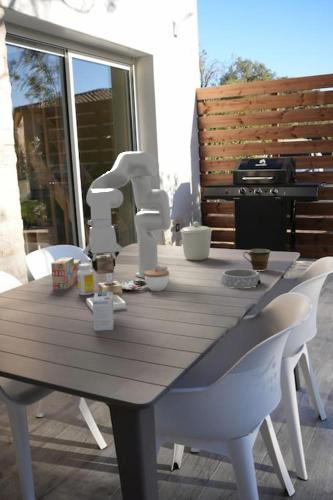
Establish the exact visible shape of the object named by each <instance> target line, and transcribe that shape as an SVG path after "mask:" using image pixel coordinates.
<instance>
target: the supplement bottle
mask: <svg viewBox="0 0 333 500" xmlns="http://www.w3.org/2000/svg"><path fill="white" fill-rule="evenodd" d="M79 268H80V270H79V271H78V272H77V277H78V281H77V287H78V289H77V290H78V294H79V295H81V296H90V295H94V293H95V287H94V284H95V283H94V273H93V272H94V271H93V270H92V269H91V264H90V263H81V264H80V265H79Z"/></svg>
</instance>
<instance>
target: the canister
mask: <svg viewBox="0 0 333 500" xmlns="http://www.w3.org/2000/svg"><path fill="white" fill-rule="evenodd" d="M212 231H213V228H211V227H210V226H204V225H200V222H198V221H193V223H192V226H191V225H190V226H185V227H182V229H179V232H180V233H181V234H180V236H181V240H182V241H181V242H182V249H183V255H184V257H185V259H186V260H189V261H203V260H207V259H208V257H209V256H210V251H211V239H212V237H211V236H212Z"/></svg>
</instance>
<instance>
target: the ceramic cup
mask: <svg viewBox="0 0 333 500" xmlns="http://www.w3.org/2000/svg"><path fill="white" fill-rule="evenodd" d="M270 253H271V250H270V249H267V248H252V249H249V252H248V251H245V252H244V253H243V258H244V259H246V260H247V261H248V262H249V263H250V265H251V266H252V267H251V268H252V270H265V269H268V268H267V267H268V264H269V258H270ZM245 254H247V255H248V256H249V257H250V259H248V258H247V257H246V256H245Z"/></svg>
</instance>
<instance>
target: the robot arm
mask: <svg viewBox="0 0 333 500" xmlns="http://www.w3.org/2000/svg"><path fill="white" fill-rule="evenodd" d="M114 161H115V162H114V163H113V165H112V167H111V169H110V171H107V172H106V173H104V174H102V175H101V176H99V177H97V178H96V179H95V180H94V181H92V182H91V185H90V186H89V188H88V190H87V194H86V199H85V200H86V203H87V205H88V207H90V217H91V219H90V220H87V225H88V226H89V225H90V226H91V227H89V233H88V235H89V236H88V244H87V246H86V247H85V248H84V249H83V250H82V253H83V254H84V255H85V256H86V257H88V258H89V259H90V260H91V266H92V269H93V270H94V272H95V271H97V261H96V256H98V255H100V254H101V255H102V254H109V255H110V256H112V257H113V268H114V269H115V267H116V258H117V257H118V256H119V255H120V253H121V252H122V251H123V250H124V248H123V247H122V245H120V244H119V243H118V242H117V236H116V235H117V234H116V230H115V227H114V225H112V212H111V211H112V210H111V209H117V208H119V207H120V206H121V205H122V204H123V203H124V195H123V192H122V191H121V190H120V189H119V188H121V187H124V186H126V185H127V184H128V183H129V180H130V181H131V185H132V190H133V196H134V197H133V198H134V204H135V206H136V208H137V209H139V210H142V211H139V212H137V213H136V214H135V215H134V220H133V221H134V226H135V231H136V232H135V233H136V237H137V242H136V243H137V263H138V264H137V265H138V266H137V267H138V271H137V272H135V276H136V277H138V278H142V279H143V278H144V279H145V275H144V273H145V271H148V270H154V269H155V268H158V269H162V270H167V271H168V266H167V265H159V264H158V262H159V261H158V240H157V236H156V234H155V233H154V232H157V231H158V232H162V231H163V232H165V231H168V230H169V229H171V225H172V219H171V210H170V209H171V208H170V201H169V195H168V193H167V191H166V190H164V189H161V188H160V189H157V188H156V189H154V188H152V185H151V184H152V183H151V178H150V177H155V176H156V175H158V172H159V169H160V164H159V160H158V159H157V158H156V157H155V156H154V155H152V154H151V153H148V152H146V151H125V152H122V153H120V154H119V155H118V156H117V158H116V160H114ZM89 252H91V253H92V254H90V253H89Z"/></svg>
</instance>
